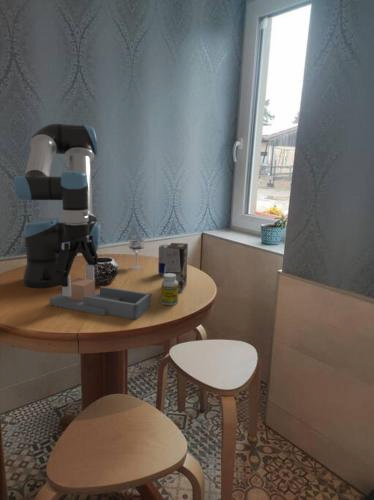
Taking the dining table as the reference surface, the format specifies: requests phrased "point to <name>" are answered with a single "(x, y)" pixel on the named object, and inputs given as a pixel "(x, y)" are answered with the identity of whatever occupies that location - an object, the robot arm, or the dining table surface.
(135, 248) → the wineglass
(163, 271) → the energy drink
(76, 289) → the terracotta block
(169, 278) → the supplement bottle
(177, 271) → the coffee box
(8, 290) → the dining table surface
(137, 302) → the sliding lid box
